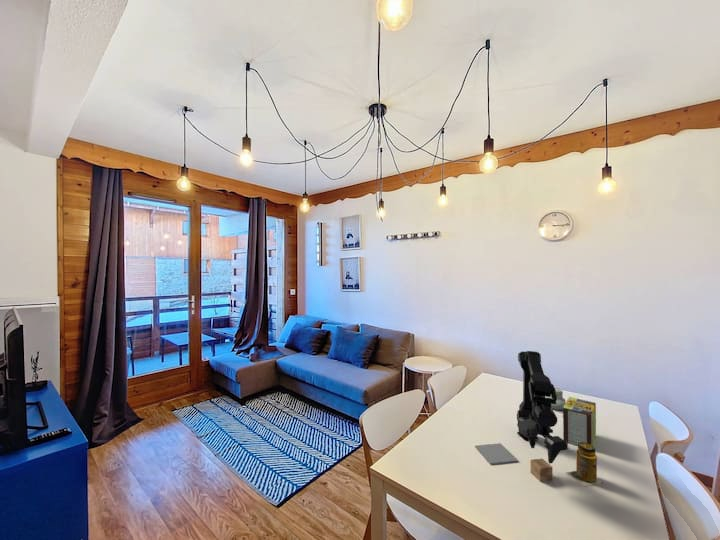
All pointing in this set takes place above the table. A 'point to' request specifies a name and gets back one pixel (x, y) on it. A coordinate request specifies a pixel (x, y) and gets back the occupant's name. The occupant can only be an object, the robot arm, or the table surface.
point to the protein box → (579, 421)
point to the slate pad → (496, 453)
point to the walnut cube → (541, 470)
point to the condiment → (585, 465)
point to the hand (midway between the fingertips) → (541, 455)
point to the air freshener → (558, 400)
